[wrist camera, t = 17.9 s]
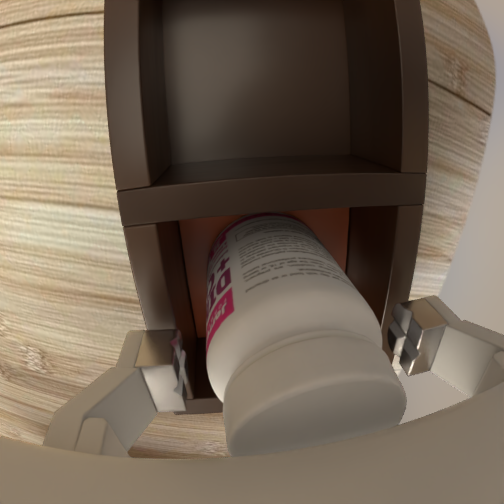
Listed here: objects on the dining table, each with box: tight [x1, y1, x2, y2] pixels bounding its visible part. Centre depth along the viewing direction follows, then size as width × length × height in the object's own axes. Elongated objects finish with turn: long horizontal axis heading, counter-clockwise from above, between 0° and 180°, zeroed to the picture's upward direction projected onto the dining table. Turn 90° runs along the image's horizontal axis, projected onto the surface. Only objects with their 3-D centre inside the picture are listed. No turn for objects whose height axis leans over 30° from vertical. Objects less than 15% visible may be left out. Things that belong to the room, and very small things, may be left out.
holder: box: [104, 0, 429, 415], centre depth 10 cm, size 17×9×5 cm, turn 3°
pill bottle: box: [206, 212, 407, 457], centre depth 10 cm, size 5×5×8 cm
